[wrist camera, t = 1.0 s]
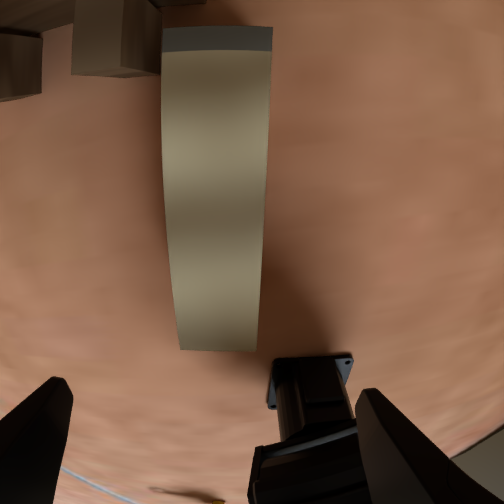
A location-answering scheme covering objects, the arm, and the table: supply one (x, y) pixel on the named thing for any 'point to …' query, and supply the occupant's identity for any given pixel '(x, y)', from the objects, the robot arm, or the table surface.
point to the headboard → (80, 39)
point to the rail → (215, 179)
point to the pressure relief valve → (217, 502)
